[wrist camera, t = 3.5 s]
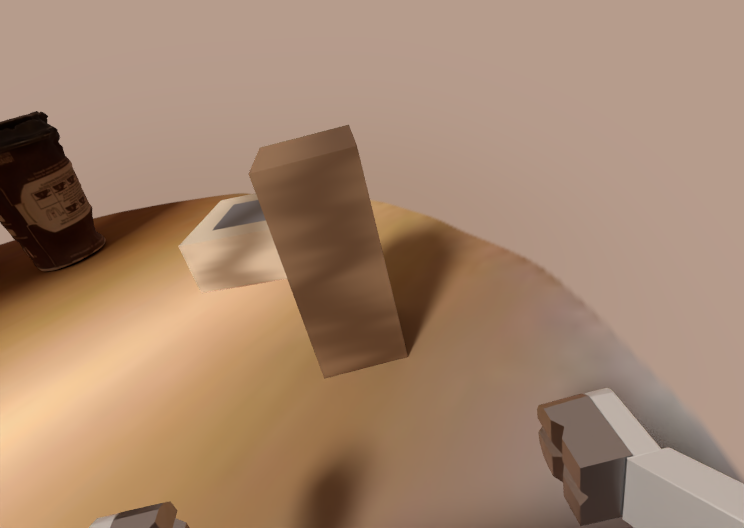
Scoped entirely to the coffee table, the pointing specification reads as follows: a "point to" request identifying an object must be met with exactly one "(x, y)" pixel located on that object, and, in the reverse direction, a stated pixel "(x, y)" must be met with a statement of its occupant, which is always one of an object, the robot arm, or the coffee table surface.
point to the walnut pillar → (330, 248)
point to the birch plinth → (232, 247)
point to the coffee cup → (43, 195)
